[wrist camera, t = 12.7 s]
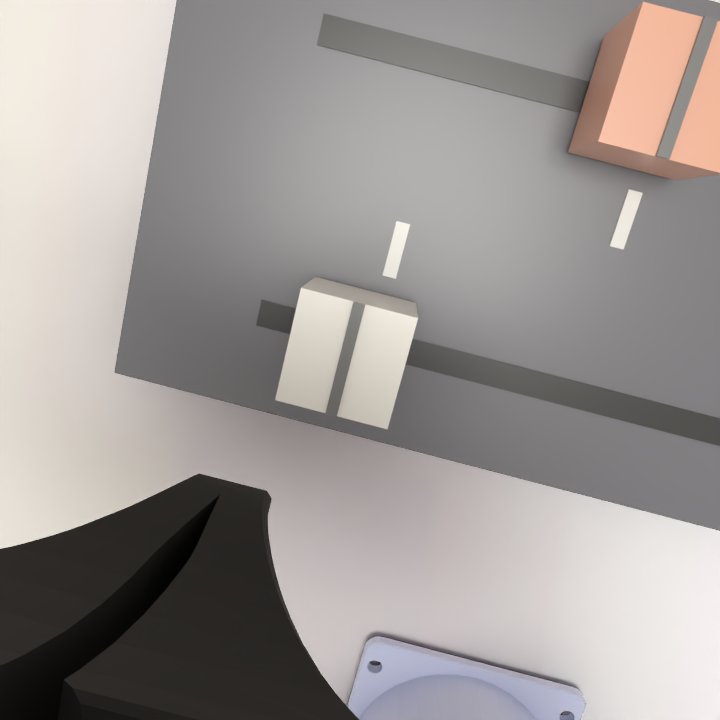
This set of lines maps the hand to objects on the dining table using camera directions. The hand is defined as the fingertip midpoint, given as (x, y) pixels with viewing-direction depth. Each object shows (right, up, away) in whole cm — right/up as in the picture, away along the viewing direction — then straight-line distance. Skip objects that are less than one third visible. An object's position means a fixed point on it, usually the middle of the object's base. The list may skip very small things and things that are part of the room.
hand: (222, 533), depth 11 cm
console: (+9, +6, +9) cm, 14 cm away
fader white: (+2, +4, +8) cm, 9 cm away
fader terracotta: (+10, +10, +6) cm, 15 cm away
